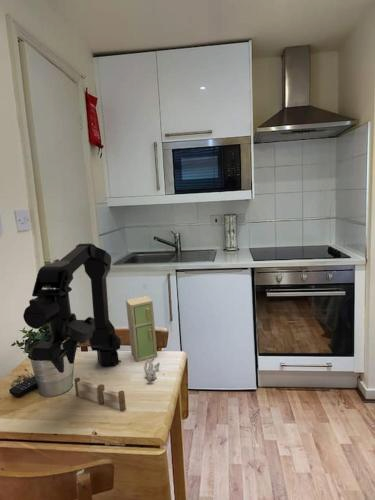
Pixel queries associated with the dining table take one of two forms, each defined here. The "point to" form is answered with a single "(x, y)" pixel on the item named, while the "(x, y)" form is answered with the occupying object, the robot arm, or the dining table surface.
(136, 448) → the dining table surface
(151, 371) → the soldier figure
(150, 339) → the toy refrigerator
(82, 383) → the fence gate
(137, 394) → the dining table surface
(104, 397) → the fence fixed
